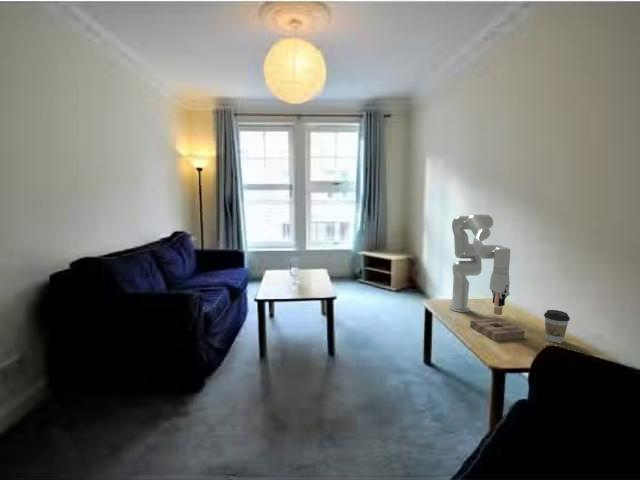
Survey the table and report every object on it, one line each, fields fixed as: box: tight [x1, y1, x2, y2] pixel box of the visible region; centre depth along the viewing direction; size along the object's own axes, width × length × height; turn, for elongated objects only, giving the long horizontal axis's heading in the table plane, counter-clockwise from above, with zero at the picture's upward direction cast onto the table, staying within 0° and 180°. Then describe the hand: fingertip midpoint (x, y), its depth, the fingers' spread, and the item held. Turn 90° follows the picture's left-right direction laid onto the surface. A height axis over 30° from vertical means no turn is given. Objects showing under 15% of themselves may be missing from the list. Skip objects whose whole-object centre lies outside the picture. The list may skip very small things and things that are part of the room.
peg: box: [493, 292, 504, 316], centre depth 204 cm, size 4×4×14 cm
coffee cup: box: [543, 309, 571, 343], centre depth 195 cm, size 11×11×15 cm
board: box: [469, 317, 526, 342], centre depth 206 cm, size 20×18×4 cm
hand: (498, 304), depth 204 cm, fingers closed on peg, 4 cm apart
